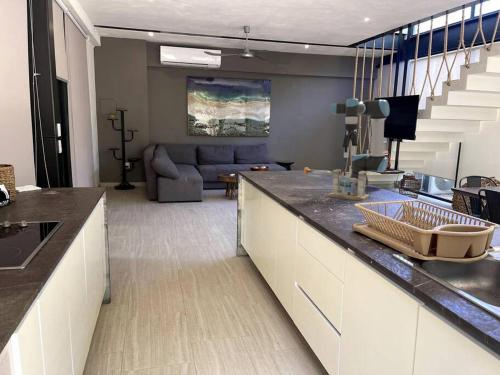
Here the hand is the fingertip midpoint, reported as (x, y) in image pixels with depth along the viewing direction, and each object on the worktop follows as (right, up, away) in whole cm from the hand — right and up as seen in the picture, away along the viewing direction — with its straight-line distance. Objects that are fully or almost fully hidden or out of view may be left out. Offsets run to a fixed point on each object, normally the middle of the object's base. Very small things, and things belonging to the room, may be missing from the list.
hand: (349, 156), depth 245 cm
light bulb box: (0, -25, +5) cm, 25 cm away
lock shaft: (-16, -12, +14) cm, 25 cm away
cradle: (0, -26, +5) cm, 27 cm away
